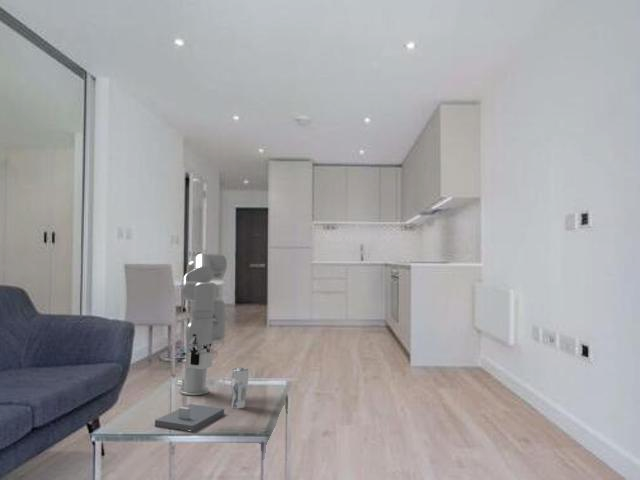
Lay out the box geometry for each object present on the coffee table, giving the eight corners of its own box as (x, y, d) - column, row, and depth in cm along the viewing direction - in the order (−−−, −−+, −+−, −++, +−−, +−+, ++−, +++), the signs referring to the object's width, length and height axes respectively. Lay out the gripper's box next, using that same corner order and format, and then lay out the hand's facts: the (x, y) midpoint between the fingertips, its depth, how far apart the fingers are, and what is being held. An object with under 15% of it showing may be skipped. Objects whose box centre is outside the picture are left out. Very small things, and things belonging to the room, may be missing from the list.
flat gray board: (154, 425, 157) (155, 409, 157) (190, 409, 178) (191, 394, 178) (192, 431, 152) (193, 415, 153) (224, 414, 173) (224, 399, 174)
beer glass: (239, 403, 188) (241, 367, 190) (250, 407, 184) (252, 369, 185) (226, 406, 183) (228, 369, 184) (237, 410, 179) (239, 371, 180)
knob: (202, 369, 165) (204, 350, 166) (187, 367, 167) (188, 349, 168) (211, 366, 172) (212, 348, 172) (196, 364, 174) (197, 346, 174)
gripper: (205, 313, 181) (202, 358, 179) (181, 316, 164) (177, 366, 162) (222, 314, 179) (219, 360, 177) (199, 317, 162) (196, 367, 160)
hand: (199, 362), depth 170 cm, fingers closed on knob, 6 cm apart
